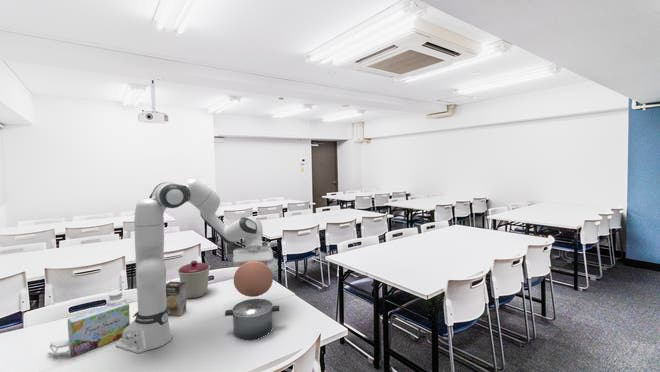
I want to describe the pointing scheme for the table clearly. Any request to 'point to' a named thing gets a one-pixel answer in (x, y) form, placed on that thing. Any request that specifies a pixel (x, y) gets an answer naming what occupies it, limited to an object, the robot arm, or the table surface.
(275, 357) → the table surface
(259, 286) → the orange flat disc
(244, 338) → the cooker pot
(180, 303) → the coffee box
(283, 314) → the table surface
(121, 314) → the snack box
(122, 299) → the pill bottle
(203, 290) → the canister
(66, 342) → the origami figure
